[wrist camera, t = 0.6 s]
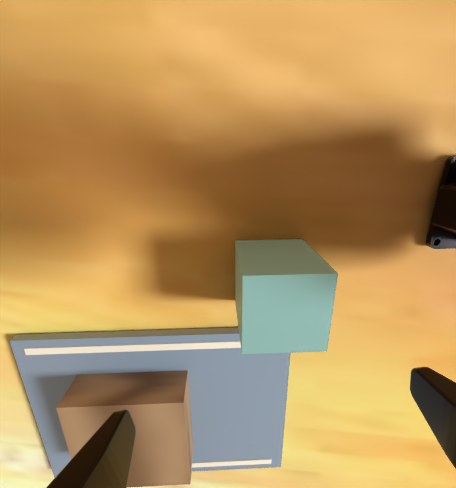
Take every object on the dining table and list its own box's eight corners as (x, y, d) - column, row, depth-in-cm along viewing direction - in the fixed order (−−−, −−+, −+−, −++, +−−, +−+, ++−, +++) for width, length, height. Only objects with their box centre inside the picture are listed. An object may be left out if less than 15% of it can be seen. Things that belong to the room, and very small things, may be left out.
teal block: (302, 238, 19) (337, 273, 14) (297, 298, 21) (327, 351, 15) (235, 240, 19) (242, 275, 14) (235, 300, 21) (241, 354, 15)
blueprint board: (289, 325, 22) (292, 332, 21) (279, 458, 27) (281, 467, 26) (16, 334, 21) (8, 341, 20) (59, 468, 26) (54, 479, 25)
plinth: (187, 370, 22) (183, 402, 19) (193, 446, 25) (190, 484, 22) (77, 374, 22) (56, 408, 19) (96, 450, 24) (80, 489, 22)
